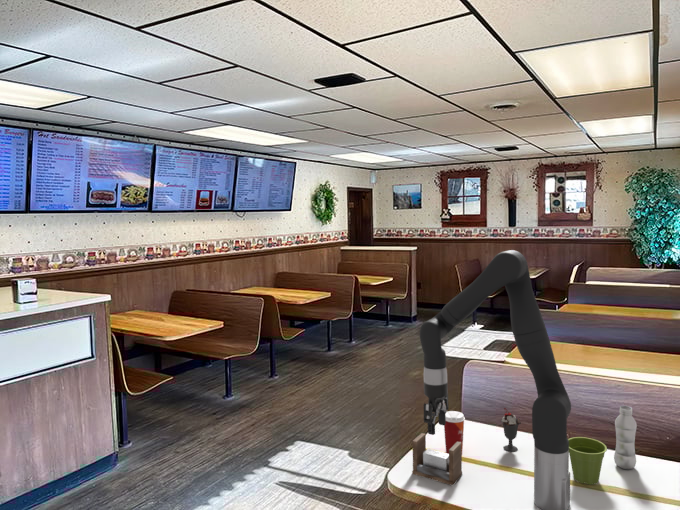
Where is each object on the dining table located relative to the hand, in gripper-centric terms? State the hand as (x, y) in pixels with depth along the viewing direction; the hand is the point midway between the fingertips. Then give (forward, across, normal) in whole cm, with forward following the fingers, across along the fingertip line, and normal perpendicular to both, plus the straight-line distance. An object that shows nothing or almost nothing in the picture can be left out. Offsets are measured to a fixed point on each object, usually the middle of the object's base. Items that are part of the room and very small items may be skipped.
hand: (437, 429), depth 168 cm
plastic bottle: (+16, +36, -50) cm, 64 cm away
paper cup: (+15, +17, +1) cm, 23 cm away
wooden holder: (+15, 0, 0) cm, 15 cm away
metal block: (+14, 0, 0) cm, 14 cm away
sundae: (+16, +30, -15) cm, 37 cm away
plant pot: (+16, +21, -41) cm, 48 cm away
